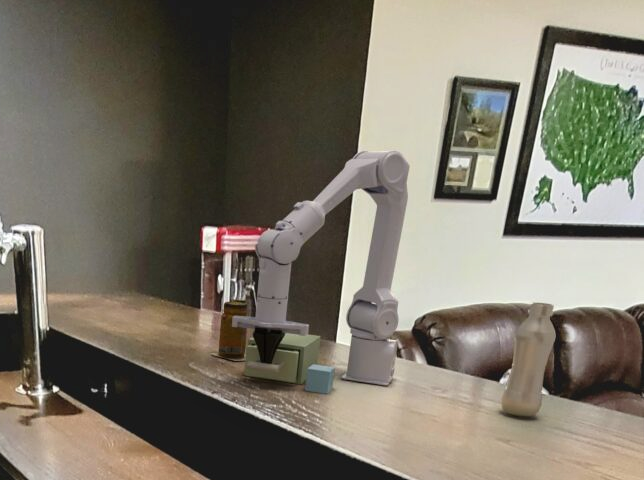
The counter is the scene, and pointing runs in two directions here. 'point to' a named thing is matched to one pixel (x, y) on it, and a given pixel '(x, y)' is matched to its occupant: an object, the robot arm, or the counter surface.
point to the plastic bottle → (529, 361)
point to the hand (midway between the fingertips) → (265, 368)
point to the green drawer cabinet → (307, 352)
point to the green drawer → (273, 364)
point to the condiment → (232, 333)
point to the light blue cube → (319, 379)
